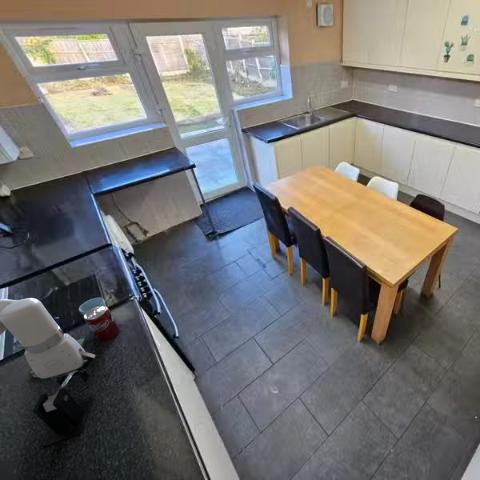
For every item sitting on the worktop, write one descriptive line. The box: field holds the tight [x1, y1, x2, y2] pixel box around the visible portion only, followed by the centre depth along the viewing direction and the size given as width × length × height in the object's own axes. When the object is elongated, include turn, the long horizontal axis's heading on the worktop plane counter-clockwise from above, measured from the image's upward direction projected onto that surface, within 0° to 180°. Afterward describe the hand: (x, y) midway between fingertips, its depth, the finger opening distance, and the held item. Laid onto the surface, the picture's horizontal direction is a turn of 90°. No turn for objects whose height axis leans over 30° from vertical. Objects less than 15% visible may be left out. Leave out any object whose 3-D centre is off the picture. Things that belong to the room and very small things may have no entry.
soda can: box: [83, 305, 122, 343], centre depth 98 cm, size 7×7×12 cm
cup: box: [78, 297, 107, 317], centre depth 104 cm, size 8×8×10 cm
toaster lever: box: [43, 369, 80, 412], centre depth 75 cm, size 13×4×2 cm, turn 23°
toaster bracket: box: [32, 388, 94, 448], centre depth 72 cm, size 10×8×12 cm
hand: (77, 380), depth 81 cm, fingers closed on toaster lever, 4 cm apart
